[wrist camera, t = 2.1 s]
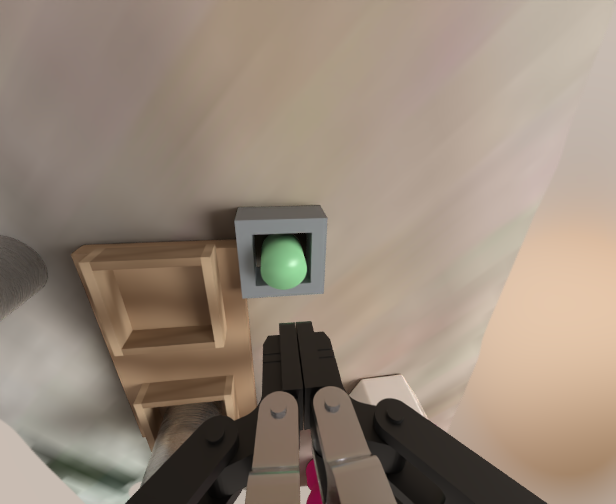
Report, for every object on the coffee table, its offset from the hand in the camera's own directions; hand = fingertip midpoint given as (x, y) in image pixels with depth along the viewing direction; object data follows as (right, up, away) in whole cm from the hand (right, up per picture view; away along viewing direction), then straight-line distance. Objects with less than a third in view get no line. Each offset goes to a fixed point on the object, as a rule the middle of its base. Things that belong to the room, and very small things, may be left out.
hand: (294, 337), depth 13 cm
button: (-1, +4, +8) cm, 9 cm away
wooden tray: (-10, -4, +12) cm, 16 cm away
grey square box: (-1, +5, +9) cm, 10 cm away
